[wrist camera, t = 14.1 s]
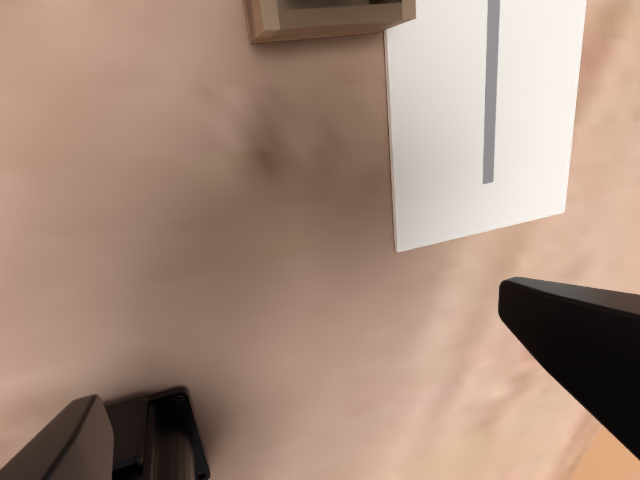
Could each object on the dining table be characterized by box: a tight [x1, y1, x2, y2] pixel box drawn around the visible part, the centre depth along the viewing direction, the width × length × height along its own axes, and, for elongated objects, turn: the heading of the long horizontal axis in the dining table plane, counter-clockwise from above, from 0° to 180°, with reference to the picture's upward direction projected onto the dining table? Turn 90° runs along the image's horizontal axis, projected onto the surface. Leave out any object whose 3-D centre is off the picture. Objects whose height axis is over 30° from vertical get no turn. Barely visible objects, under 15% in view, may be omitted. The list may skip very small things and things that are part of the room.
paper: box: [384, 0, 586, 253], centre depth 22 cm, size 16×12×1 cm
